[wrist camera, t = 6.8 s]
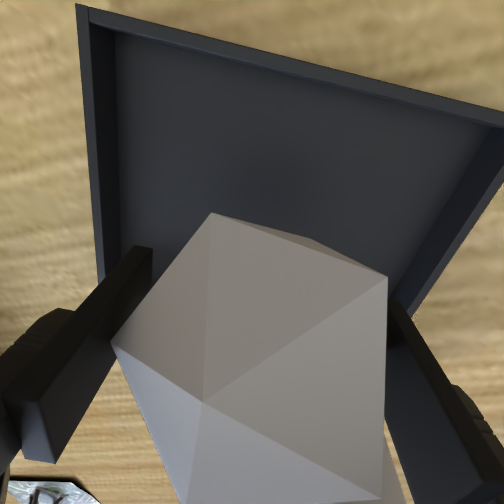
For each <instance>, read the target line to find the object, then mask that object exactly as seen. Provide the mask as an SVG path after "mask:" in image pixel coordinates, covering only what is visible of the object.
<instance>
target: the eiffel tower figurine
mask: <svg viewBox="0 0 504 504" xmlns="http://www.w3.org/2000/svg"><path fill="white" fill-rule="evenodd" d="M7 491H8V492H9V493H10V494H11V495H12V496H13V497H15V498H16V499H17V500H18V501H19V502H20V503H21V504H100V503H99V502H98V501H96V500H95V499H94V498H93V497H92V496H91V495H89V494H88V493H86V492H84V491H82V490H81V489H79V488H78V487H77V486H75V485H74V484H73V483H72V482H29V481H9V484H8V489H7Z"/></svg>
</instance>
